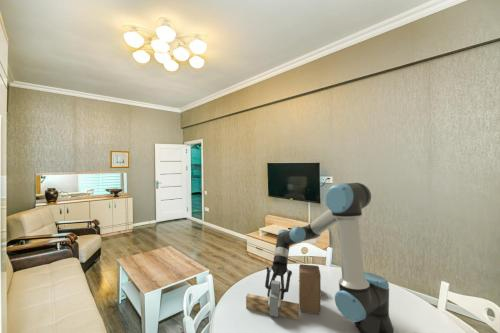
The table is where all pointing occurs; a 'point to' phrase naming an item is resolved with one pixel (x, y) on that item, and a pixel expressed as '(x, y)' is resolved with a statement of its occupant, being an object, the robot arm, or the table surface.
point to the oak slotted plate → (262, 305)
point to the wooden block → (309, 289)
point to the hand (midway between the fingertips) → (274, 305)
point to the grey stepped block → (274, 298)
